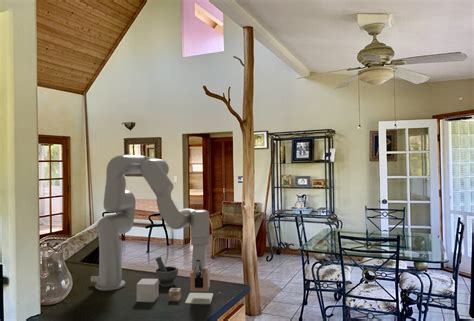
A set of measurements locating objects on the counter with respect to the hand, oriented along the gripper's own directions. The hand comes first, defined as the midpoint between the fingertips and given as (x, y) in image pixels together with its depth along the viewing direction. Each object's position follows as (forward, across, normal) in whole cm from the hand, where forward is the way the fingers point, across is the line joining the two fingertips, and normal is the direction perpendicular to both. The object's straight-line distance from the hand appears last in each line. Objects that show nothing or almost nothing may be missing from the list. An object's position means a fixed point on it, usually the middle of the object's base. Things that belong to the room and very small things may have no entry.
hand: (200, 284), depth 149 cm
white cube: (+6, +1, -21) cm, 22 cm away
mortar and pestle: (+6, -17, -18) cm, 26 cm away
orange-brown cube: (+2, 0, 0) cm, 2 cm away
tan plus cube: (+6, +1, -10) cm, 12 cm away
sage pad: (+6, 0, 0) cm, 6 cm away
